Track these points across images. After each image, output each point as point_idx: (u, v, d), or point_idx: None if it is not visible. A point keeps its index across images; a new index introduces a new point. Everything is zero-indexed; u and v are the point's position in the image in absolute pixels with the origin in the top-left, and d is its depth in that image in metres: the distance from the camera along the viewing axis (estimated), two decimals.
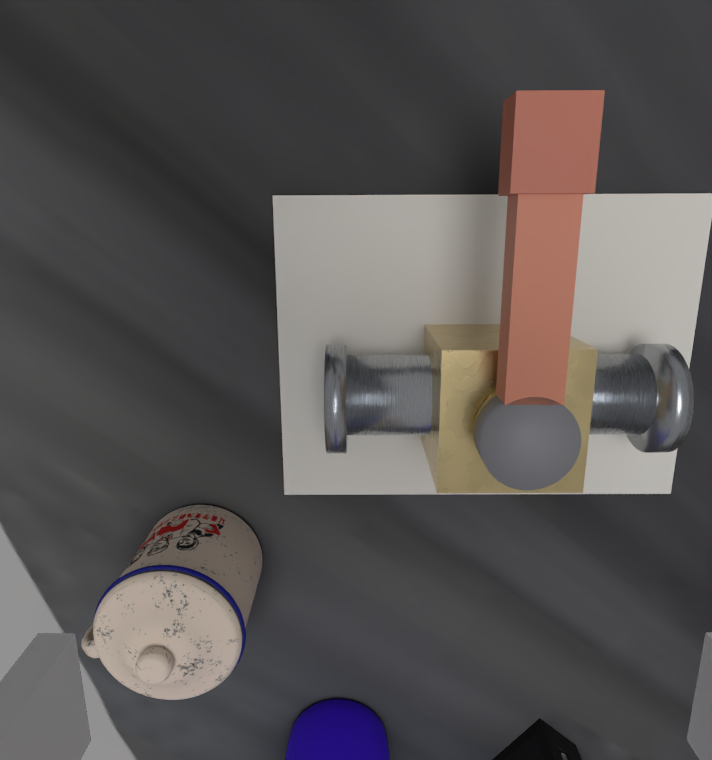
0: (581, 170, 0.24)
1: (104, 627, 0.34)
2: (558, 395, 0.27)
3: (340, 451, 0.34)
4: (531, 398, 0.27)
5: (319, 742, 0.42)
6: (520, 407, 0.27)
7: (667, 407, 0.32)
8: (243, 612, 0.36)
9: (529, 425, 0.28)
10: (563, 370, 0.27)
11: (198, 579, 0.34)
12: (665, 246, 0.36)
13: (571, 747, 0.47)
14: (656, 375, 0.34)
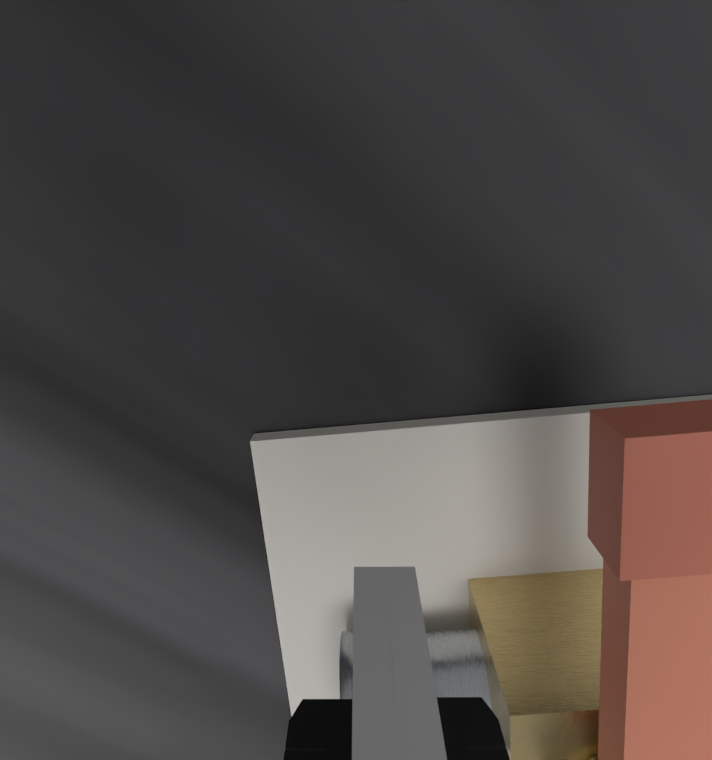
0: None
1: None
2: None
3: None
4: None
5: None
6: None
7: None
8: None
9: None
10: None
11: None
12: None
13: None
14: None
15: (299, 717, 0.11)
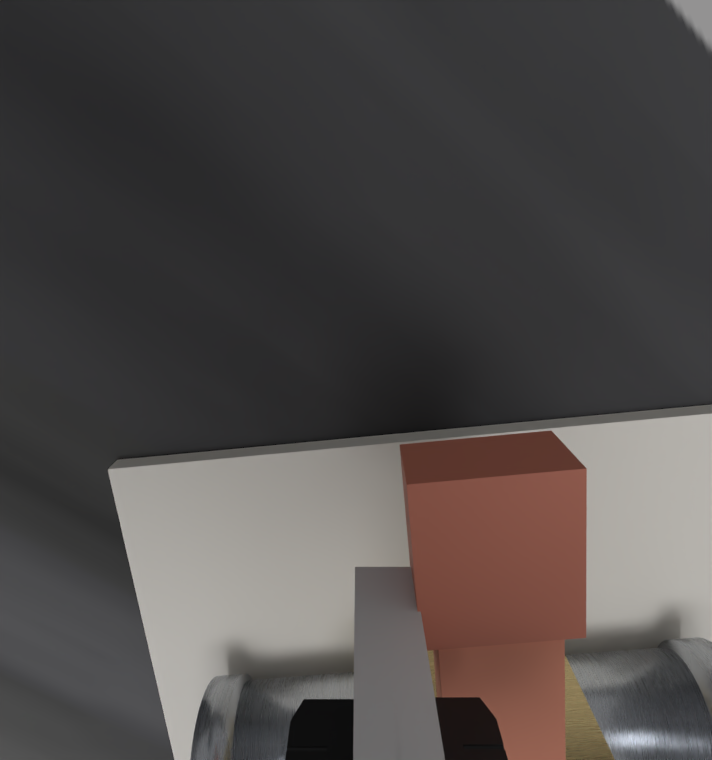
0: (555, 604, 0.12)
1: None
2: None
3: None
4: None
5: None
6: None
7: None
8: None
9: None
10: None
11: None
12: (706, 485, 0.24)
13: None
14: None
15: (300, 717, 0.11)
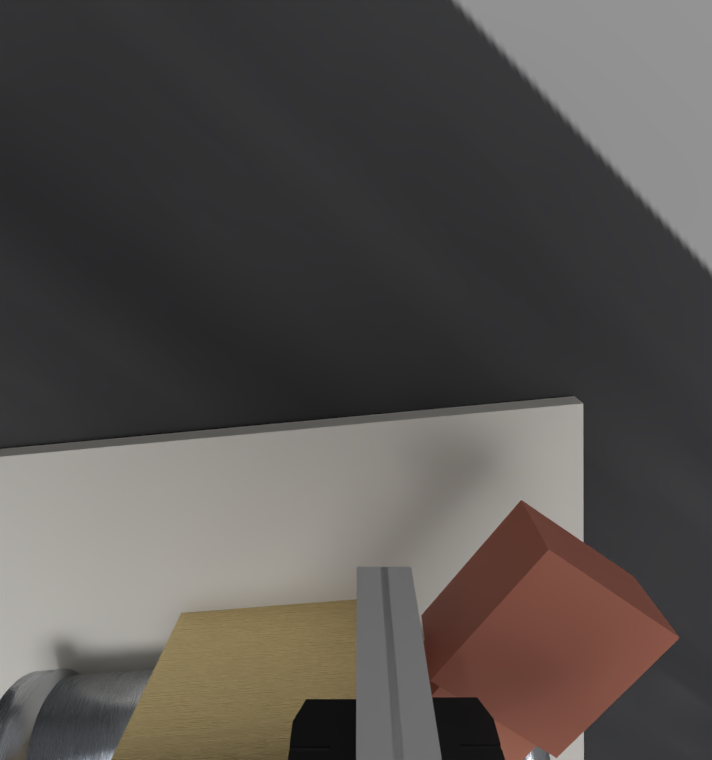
0: (560, 718, 0.13)
1: None
2: None
3: None
4: None
5: None
6: None
7: None
8: None
9: None
10: None
11: None
12: (518, 482, 0.24)
13: None
14: None
15: (303, 717, 0.11)
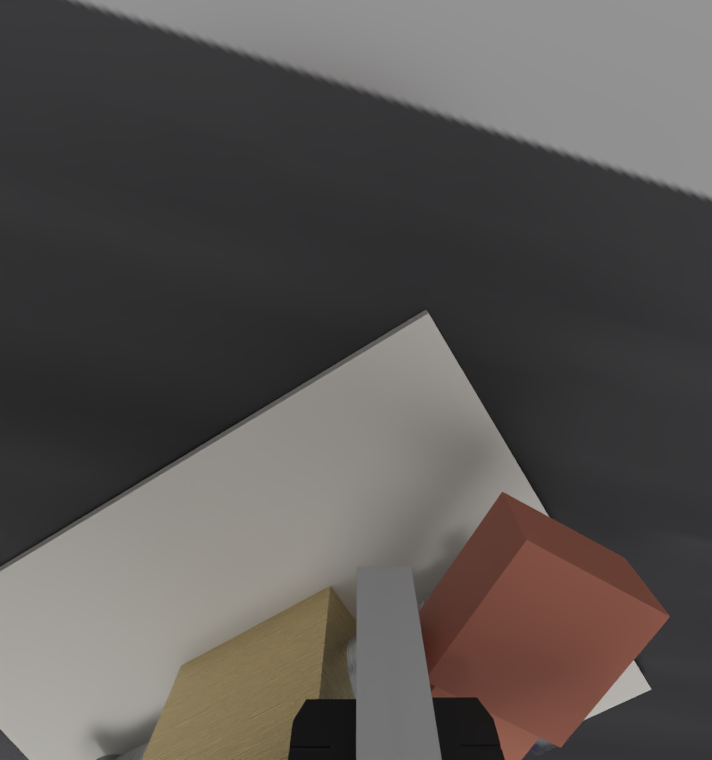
0: (559, 707, 0.13)
1: None
2: None
3: None
4: None
5: None
6: None
7: None
8: None
9: None
10: None
11: None
12: (411, 415, 0.23)
13: None
14: None
15: (303, 717, 0.11)
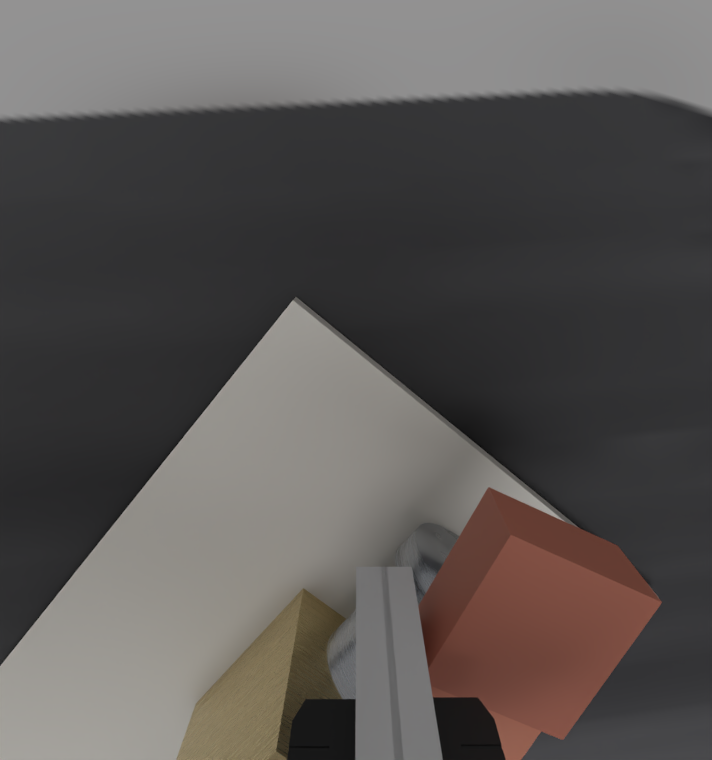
0: (558, 699, 0.13)
1: None
2: None
3: None
4: None
5: None
6: None
7: None
8: None
9: None
10: None
11: None
12: (315, 402, 0.23)
13: None
14: None
15: (302, 717, 0.11)
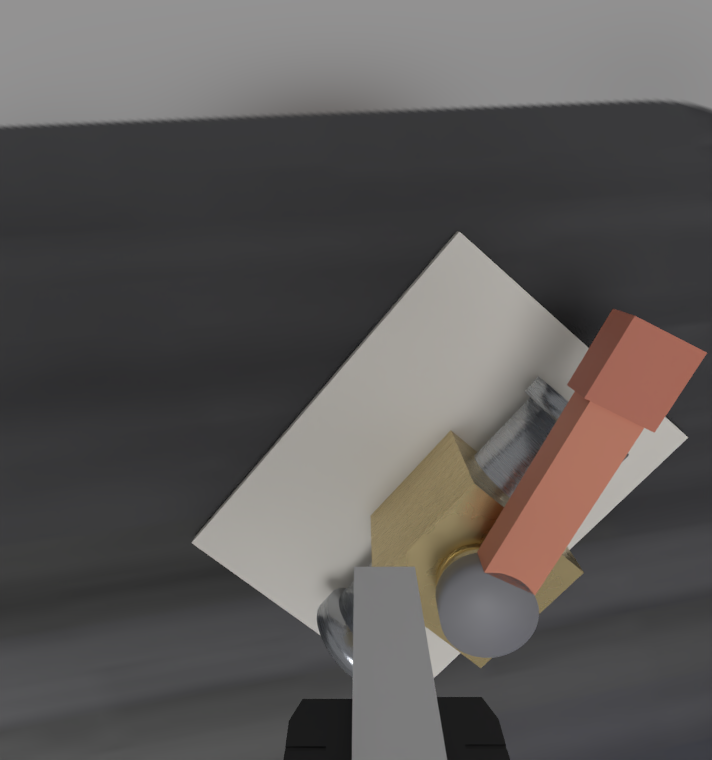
0: (653, 408, 0.25)
1: None
2: (534, 585, 0.28)
3: None
4: (510, 577, 0.28)
5: None
6: (497, 580, 0.28)
7: None
8: None
9: (496, 600, 0.28)
10: (550, 566, 0.27)
11: None
12: (468, 299, 0.35)
13: None
14: (553, 418, 0.32)
15: (299, 717, 0.11)
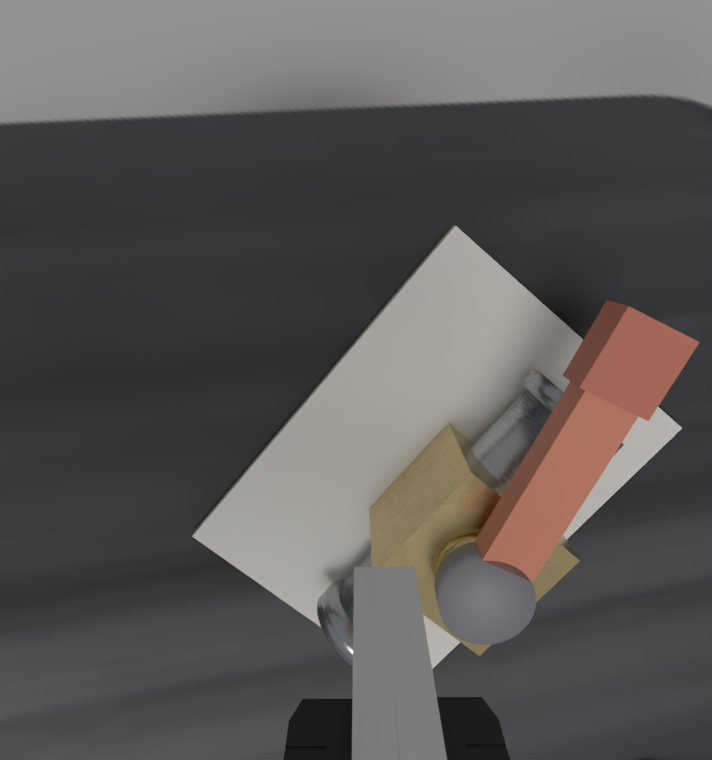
0: (647, 397, 0.26)
1: None
2: (532, 572, 0.28)
3: None
4: (508, 565, 0.28)
5: None
6: (494, 568, 0.28)
7: None
8: None
9: (494, 587, 0.28)
10: (546, 554, 0.28)
11: None
12: (464, 293, 0.36)
13: None
14: (549, 409, 0.33)
15: (299, 717, 0.11)
